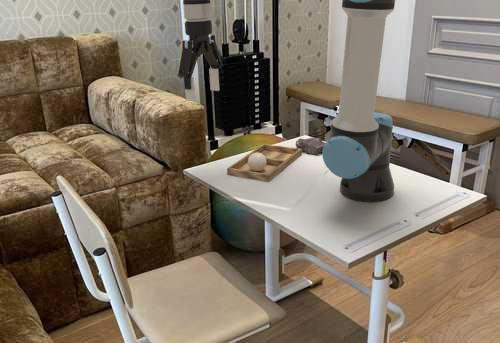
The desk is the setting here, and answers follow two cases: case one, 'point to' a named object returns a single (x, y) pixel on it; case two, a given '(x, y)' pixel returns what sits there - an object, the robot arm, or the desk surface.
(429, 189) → the desk surface
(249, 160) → the ceramic ball
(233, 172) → the wooden tray
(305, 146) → the rock
